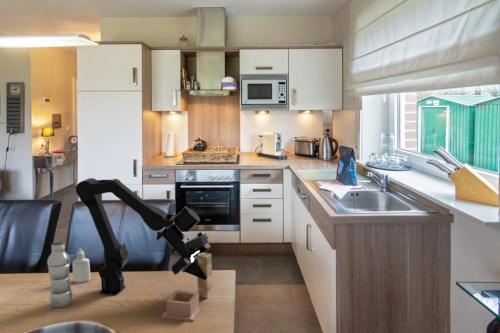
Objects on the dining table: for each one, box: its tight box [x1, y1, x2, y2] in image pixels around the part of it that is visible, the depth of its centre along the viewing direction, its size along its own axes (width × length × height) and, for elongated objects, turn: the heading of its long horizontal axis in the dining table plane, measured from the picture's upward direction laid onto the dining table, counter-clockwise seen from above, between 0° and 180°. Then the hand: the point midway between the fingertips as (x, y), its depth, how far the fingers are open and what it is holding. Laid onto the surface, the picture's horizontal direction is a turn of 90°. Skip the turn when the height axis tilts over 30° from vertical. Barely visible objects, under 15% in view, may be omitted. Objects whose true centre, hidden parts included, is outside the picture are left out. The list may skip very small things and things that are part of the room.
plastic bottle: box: [46, 241, 74, 308], centre depth 128 cm, size 6×7×20 cm
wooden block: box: [197, 252, 213, 299], centre depth 135 cm, size 4×4×14 cm
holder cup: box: [160, 290, 205, 322], centre depth 125 cm, size 10×10×5 cm
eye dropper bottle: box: [72, 248, 91, 284], centre depth 147 cm, size 4×6×12 cm
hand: (208, 277), depth 135 cm, fingers closed on wooden block, 3 cm apart
